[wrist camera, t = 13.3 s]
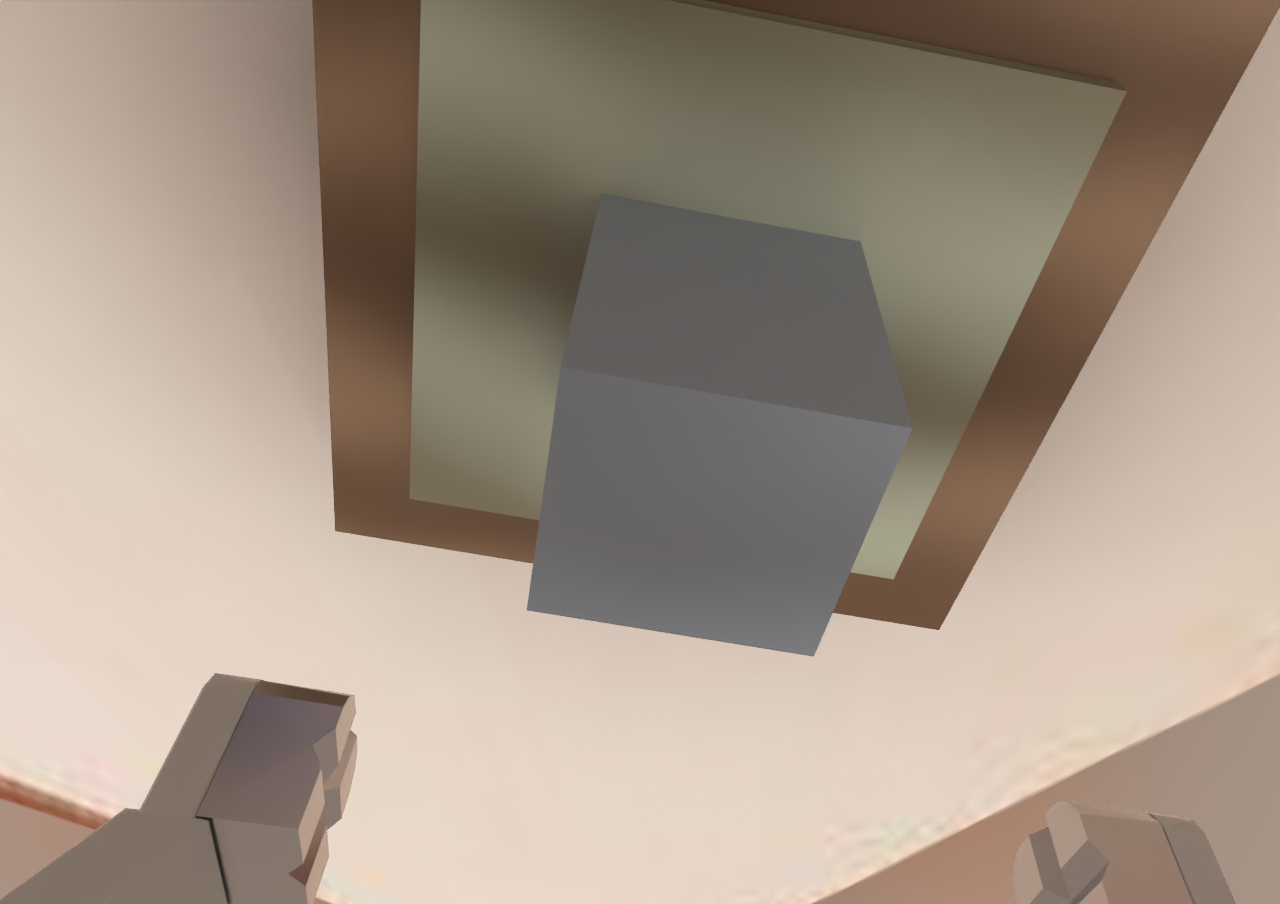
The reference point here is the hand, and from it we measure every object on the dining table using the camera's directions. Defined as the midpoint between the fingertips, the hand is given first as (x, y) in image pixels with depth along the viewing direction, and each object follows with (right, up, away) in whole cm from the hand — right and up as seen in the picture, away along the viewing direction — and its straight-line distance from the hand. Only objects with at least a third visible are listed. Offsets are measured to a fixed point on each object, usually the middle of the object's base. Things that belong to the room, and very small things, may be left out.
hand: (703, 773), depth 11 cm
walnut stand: (+1, +9, +12) cm, 15 cm away
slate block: (+1, +6, +8) cm, 11 cm away
